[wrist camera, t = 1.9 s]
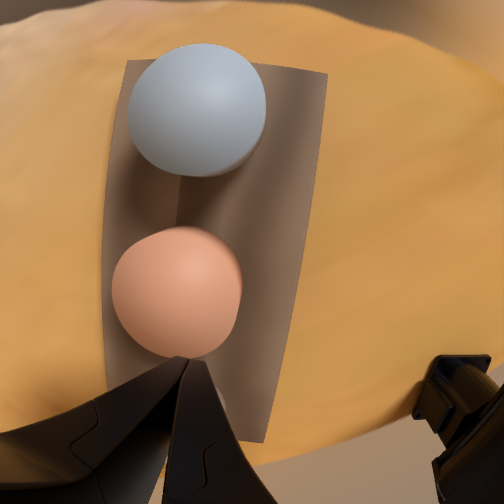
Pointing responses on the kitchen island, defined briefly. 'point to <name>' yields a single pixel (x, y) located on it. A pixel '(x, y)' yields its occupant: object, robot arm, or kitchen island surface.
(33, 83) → the kitchen island surface
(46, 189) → the kitchen island surface
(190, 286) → the peach rounded lump
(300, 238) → the button board
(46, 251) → the kitchen island surface
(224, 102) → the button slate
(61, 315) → the kitchen island surface
